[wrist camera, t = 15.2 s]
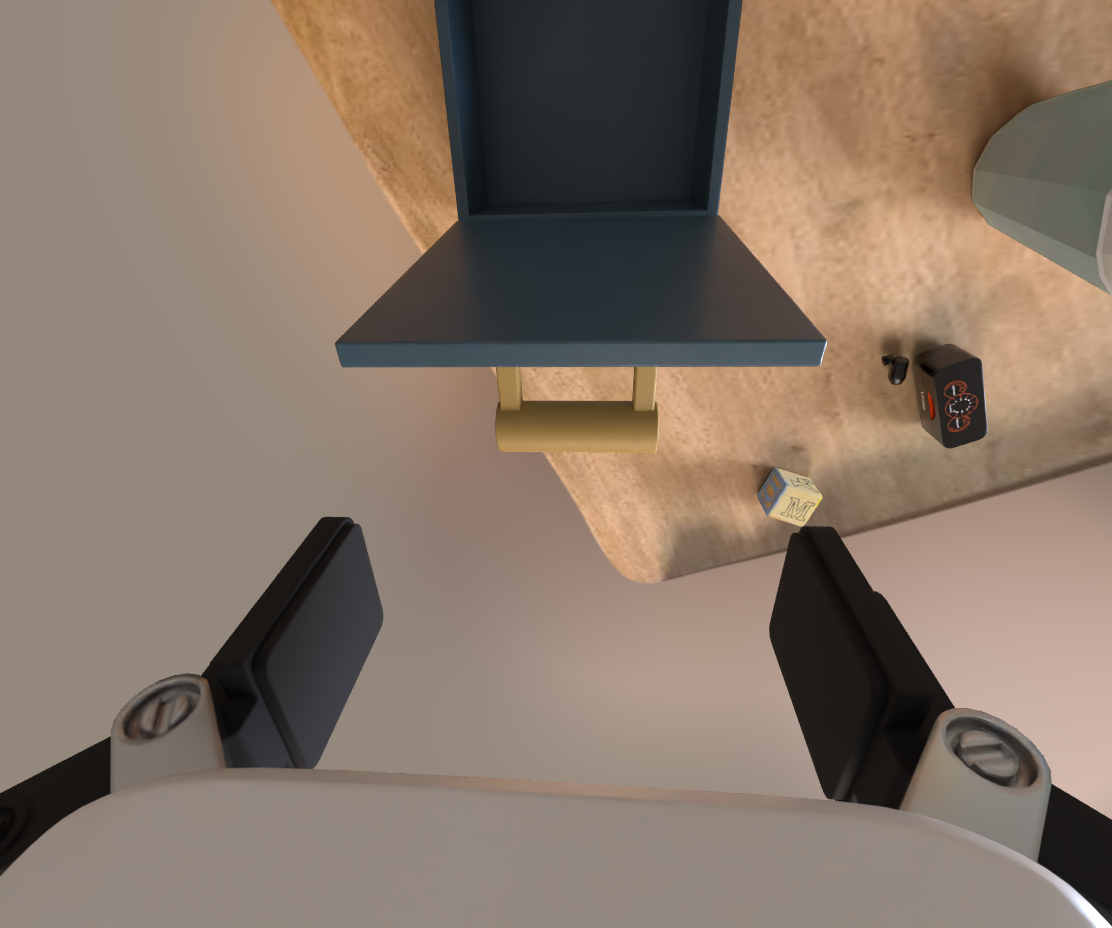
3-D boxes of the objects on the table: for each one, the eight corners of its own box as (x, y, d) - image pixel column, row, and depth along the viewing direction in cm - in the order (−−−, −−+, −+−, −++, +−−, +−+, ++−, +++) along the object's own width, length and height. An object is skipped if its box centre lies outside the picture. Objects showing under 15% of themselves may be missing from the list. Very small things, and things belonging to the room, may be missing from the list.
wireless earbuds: (951, 327, 36) (980, 343, 33) (960, 416, 39) (988, 437, 36) (877, 354, 37) (899, 371, 34) (892, 438, 40) (913, 459, 38)
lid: (332, 342, 15) (373, 482, 18) (829, 340, 14) (787, 488, 17) (456, 220, 28) (468, 313, 31) (720, 214, 27) (707, 311, 30)
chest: (452, -121, 27) (412, -193, 21) (731, -141, 26) (768, -222, 20) (482, 214, 34) (459, 227, 29) (697, 209, 33) (717, 222, 28)
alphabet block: (774, 464, 42) (786, 485, 40) (810, 476, 43) (824, 498, 40) (755, 494, 44) (765, 517, 41) (790, 506, 44) (802, 528, 41)
